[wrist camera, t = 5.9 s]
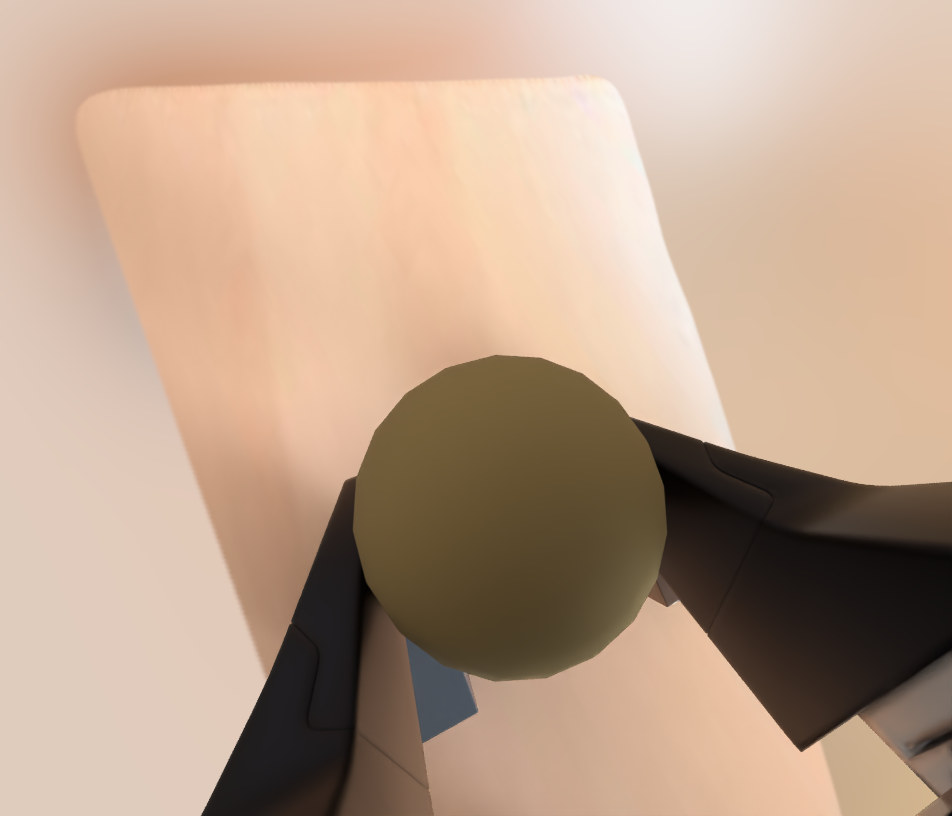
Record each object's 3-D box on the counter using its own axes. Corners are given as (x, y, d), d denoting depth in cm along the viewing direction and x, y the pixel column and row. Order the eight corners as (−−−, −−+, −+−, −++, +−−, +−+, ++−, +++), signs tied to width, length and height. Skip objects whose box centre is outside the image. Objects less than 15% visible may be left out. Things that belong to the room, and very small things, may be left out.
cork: (486, 595, 15) (649, 863, 5) (349, 523, 15) (188, 633, 4) (551, 458, 17) (791, 423, 6) (426, 389, 16) (445, 224, 6)
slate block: (465, 663, 19) (478, 712, 15) (386, 704, 18) (379, 767, 14) (435, 584, 20) (441, 612, 16) (357, 621, 19) (342, 661, 15)
